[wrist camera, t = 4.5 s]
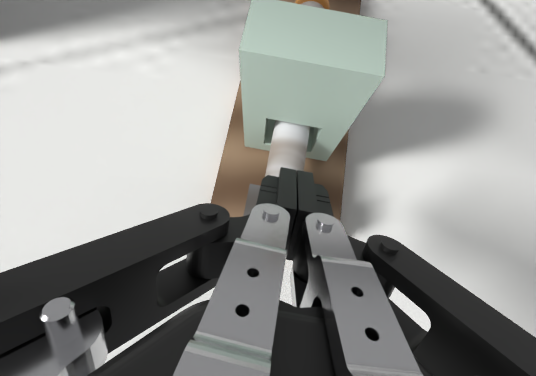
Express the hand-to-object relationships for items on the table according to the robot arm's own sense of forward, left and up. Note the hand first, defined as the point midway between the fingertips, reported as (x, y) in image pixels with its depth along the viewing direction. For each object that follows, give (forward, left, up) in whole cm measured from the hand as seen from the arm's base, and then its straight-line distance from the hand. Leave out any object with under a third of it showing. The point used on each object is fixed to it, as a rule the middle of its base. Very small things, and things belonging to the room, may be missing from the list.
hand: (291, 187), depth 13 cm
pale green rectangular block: (-6, +6, -12) cm, 15 cm away
